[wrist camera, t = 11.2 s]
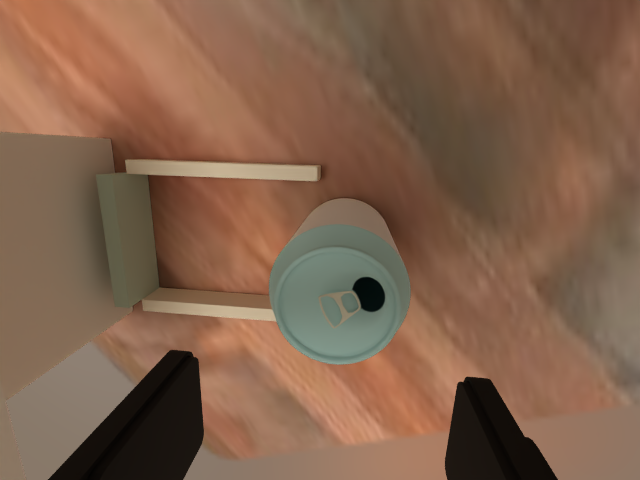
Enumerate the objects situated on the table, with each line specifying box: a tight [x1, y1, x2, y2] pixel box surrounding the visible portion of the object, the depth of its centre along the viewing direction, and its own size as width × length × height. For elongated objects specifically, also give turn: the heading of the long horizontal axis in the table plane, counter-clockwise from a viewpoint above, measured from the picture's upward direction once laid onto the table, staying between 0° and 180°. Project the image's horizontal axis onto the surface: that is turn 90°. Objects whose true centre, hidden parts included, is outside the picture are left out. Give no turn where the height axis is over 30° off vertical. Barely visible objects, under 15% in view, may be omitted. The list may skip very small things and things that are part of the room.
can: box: [269, 198, 411, 364], centre depth 20 cm, size 7×7×12 cm
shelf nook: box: [0, 132, 321, 480], centre depth 19 cm, size 18×15×17 cm
